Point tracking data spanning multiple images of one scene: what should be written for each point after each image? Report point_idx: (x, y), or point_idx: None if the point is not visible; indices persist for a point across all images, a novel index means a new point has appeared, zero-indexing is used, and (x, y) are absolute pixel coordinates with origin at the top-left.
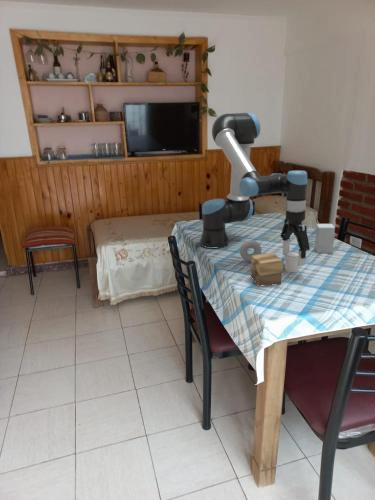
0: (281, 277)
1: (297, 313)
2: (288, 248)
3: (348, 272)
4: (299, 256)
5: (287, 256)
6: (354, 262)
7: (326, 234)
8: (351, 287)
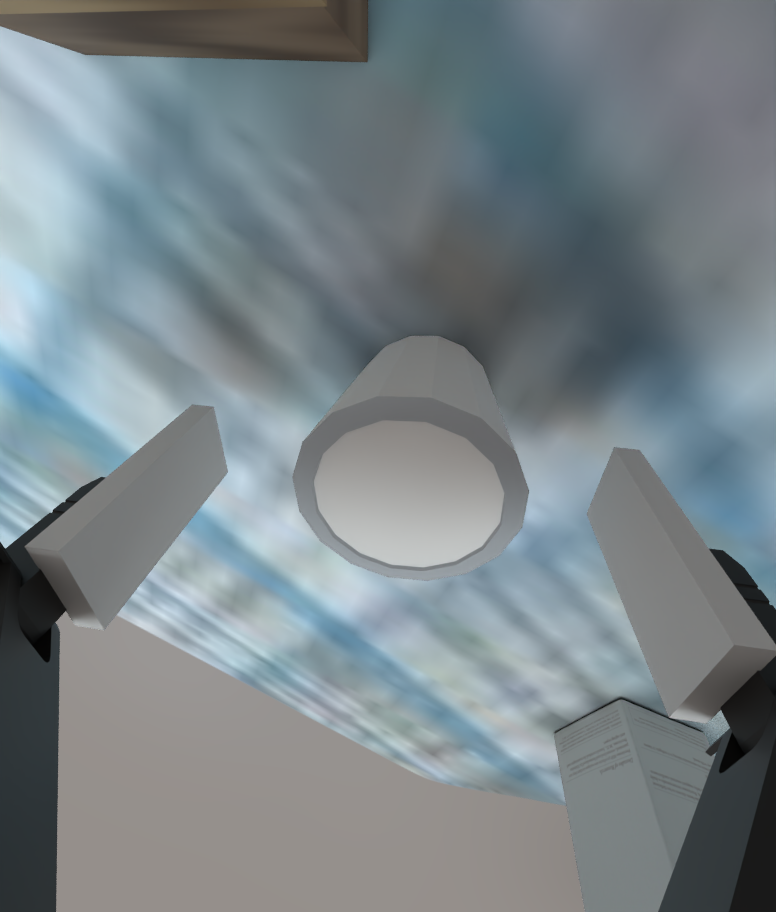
0: (2, 26)
1: None
2: (619, 569)
3: (269, 635)
4: (110, 477)
5: (366, 400)
6: (383, 715)
7: (625, 902)
8: None
